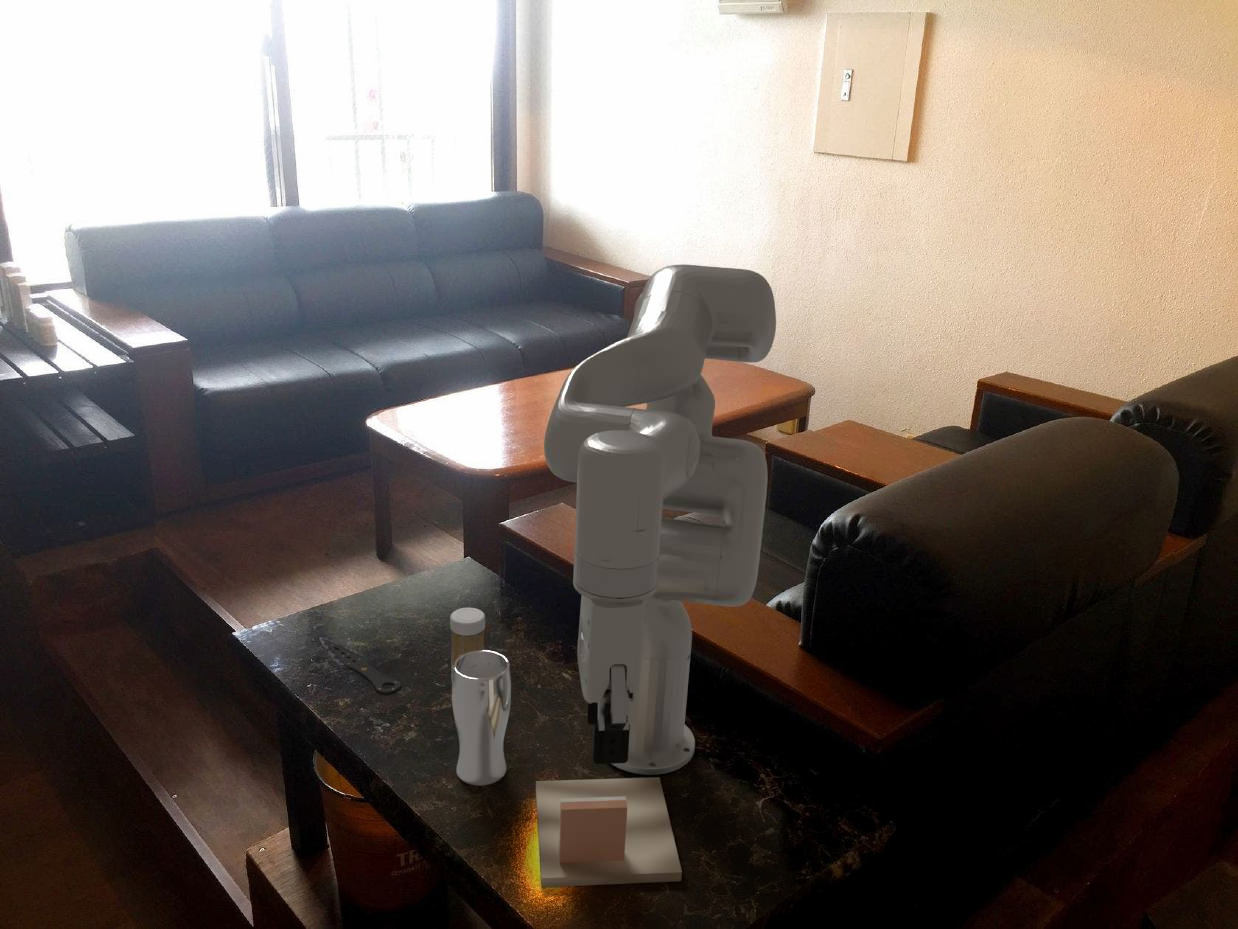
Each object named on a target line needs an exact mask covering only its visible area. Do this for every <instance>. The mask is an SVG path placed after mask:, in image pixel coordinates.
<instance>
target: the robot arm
mask: <svg viewBox="0 0 1238 929" xmlns="http://www.w3.org/2000/svg"><path fill="white" fill-rule="evenodd" d="M776 311H777V310H776V304H775V296H774V291H773V290H772V287H771V285H770V282H768V279H766V278H765V277H764V276H763V275H761V274H760V273H758V272H756V271H753V270H752V269H751V270H750V269H744V268H735V267H734V268H733V267H722V266H721V267H719V266H707V265H699V264H698V265H697V264H695V265H694V264H671V265H667V266H664V267H662V268H659V269H658V270H657V271H655V272H654V273H653V274H652V275H650V277H649V278H648V280H646V283H645V285H644V286H643V289H642V293H640V295H639V296H638V298H637V299H636V301H635V306H634V311H633V312H634V314H633V318H632V322H631V325H630V328H629V331H628V333H627V337H624V338H622V339H620V340H619V341H616V342H614V343H612V344H610V345H608V346H606V347H605V348H603V349H601V350H599V351H597V352H596V353H594V354H592V355H590V356H589V357H587V358H585V359H584V360H582V361H581V362H580V363H579V364H578V365H576V366H575V367H574V368H573V369H572V370H570V372H569V373H568V375H567V376H566V377H565V380H564V381H563V384H562V386H561V388H560V390H559V392H558V395H557V398H556V400H555V402H554V405H553V407H552V410H551V413H550V415H549V418H548V423H547V426H546V430H545V434H544V440H543V441H544V443H543V451H544V452H543V453H544V458H545V462H546V464H547V467H548V469H549V470H550V471H551V473H553V475H554V476H556V477H558V478H559V479H561V480H564V481H566V482H572V483H576V506H575V508H576V509H575V535H574V552H573V553H574V555H573V575H572V576H573V579H572V581H573V582H572V583H573V587H574V590H575V591H577V592H578V594H580V595H581V597H580V598H581V599H580V610H579V612H580V614H579V626H578V639H577V650H576V652H577V664H578V671H579V678H580V679H579V680H580V685H581V691H582V696H583V699H584V700H585V701H586V702H587V711H586V713H587V714H586V720H587V724H588V725H591V726H593V746H592V747H593V748H592V761H593V763H594V764H595V765H596V764H597V765H608V764H609V765H610V764H611V765H612V766H614V767H616V768H618V769H620V770H622V771H625V772H628V773H632V774H637V775H645V776H648V775H649V776H655V775H657V776H658V775H664V774H668V773H672V772H674V771H677V770H680V769H681V768H682V767H684V766H685V765H687V764H688V763H689V762H690V761H691V760H692V758H693V756H694V754H695V748H696V739H695V737H694V733H693V732H692V730H691V729H690V728H689V727H688V726H687V724H685V722H686V710H687V700H688V690H689V689H688V687H689V686H688V685H689V678H690V677H689V676H690V675H689V674H690V663H691V652H692V644H693V643H692V640H693V627H692V623H691V622H692V621H691V619H690V617H689V614H688V612H687V610H686V608H685V606H684V604H683V603H682V602H687V603H689V602H690V603H694V604H695V603H696V604H706V605H711V606H720V607H734V608H735V607H741V606H744V605H745V604H747V603H748V602H749V601H750V600H751V598H752V596H753V594H754V592H755V588H756V585H757V579H758V576H759V575H758V573H759V566H760V556H761V546H762V538H763V529H764V519H765V512H766V511H765V510H766V503H767V502H766V501H767V495H768V494H767V493H768V491H767V490H768V463H767V459H766V458H767V457H766V455H765V453H764V451H763V450H762V449H761V447H760V446H758V444H756V443H754V442H752V441H748V440H745V439H739V438H737V439H736V438H730V437H729V438H728V437H723V436H722V437H721V436H720V437H719V436H714V435H713V433H712V432H713V424H714V423H713V422H714V416H715V409H716V400H715V396H714V394H713V392H712V390H711V388H710V386H709V385H708V383H707V381H706V379H705V378H704V377H703V375H702V373H703V368H704V364H705V359H706V360H716V361H726V362H727V361H728V362H737V363H749V364H750V363H753V364H754V363H759V362H760V361H763V360H765V358H766V357H767V356H768V355H769V353H770V351H771V349H772V348H773V347H772V346H773V344H774V341H775V336H776V330H777V313H776ZM644 404H646V408H645V409H643V408H635V407H632V406H638V405H644ZM663 509H665V510H666V509H667V510H672V511H679V512H680V511H681V512H689V513H696V514H705V515H713V516H718V517H721V519H723V520H724V522H725V524H726V525H724V524H723V525H722V524H714V523H707V522H700V521H693V520H687V519H686V520H685V519H678V518H677V519H676V518H671V517H669V518H668V517H663Z"/></svg>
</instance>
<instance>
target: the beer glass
mask: <svg viewBox="0 0 1238 929" xmlns="http://www.w3.org/2000/svg"><path fill="white" fill-rule="evenodd" d="M510 664H511V663H510V661H509V659H508V658H507V657H506V656H505V655H504V654H501V653H500V652H497V651H493V650H486V649H484V650H479V651H472V652H468V653H465V654H463V655H461V656H460V657H459V658H457V659H456V661H455V663H454V674H453V685H452V684H451V697H452V702H451V703H452V711H453V717H454V723H455V727H456V731H457V736H458V741H459V742H458V743H459V754H458V760H457V764H456V770H455V772H456V775H457V777H458V778H459V779H460V780H461V781H462V782H463V783H465V784H468V785H472V786H479V787H480V786H481V787H482V786H489V785H492V784H495V783H496V782H498V781H500V780H502V778H504V777H505V774H506V772H507V763H506V758H505V754H504V752H505V751H504V740H505V734H506V732H507V731H506V730H507V725H508V720H509V718H510V717H509V716H510V712H511V711H510V710H511V703H512V701H511V700H512V699H511V698H512V683H511V682H512V680H511V672H510V671H511V668H510V666H511V665H510Z"/></svg>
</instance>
